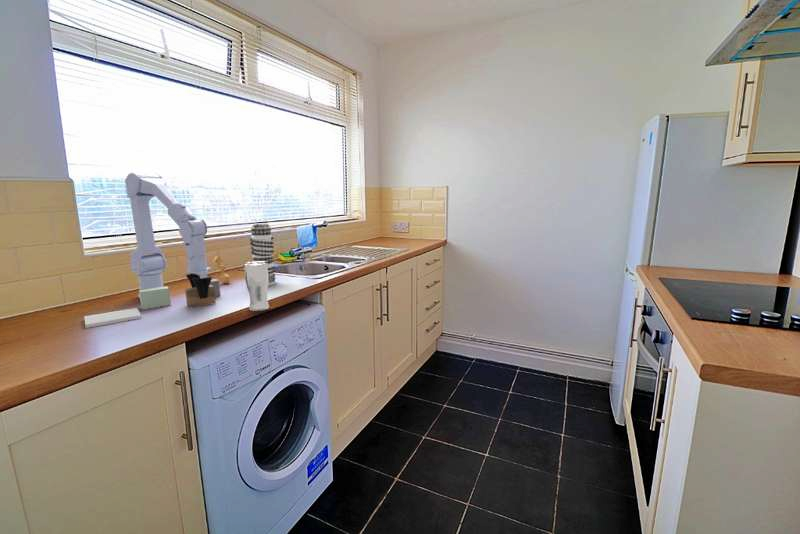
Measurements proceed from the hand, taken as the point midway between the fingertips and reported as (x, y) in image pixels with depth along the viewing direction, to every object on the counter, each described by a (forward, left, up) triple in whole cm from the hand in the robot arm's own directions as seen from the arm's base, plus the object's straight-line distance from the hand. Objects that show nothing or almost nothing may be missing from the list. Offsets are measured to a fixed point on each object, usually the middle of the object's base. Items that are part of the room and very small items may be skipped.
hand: (200, 295), depth 127 cm
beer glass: (+18, +13, -3) cm, 22 cm away
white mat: (-1, -24, -3) cm, 24 cm away
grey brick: (-9, +4, -3) cm, 10 cm away
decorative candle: (-16, +28, -3) cm, 32 cm away
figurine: (-28, +15, -3) cm, 32 cm away
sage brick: (-8, -12, -3) cm, 15 cm away
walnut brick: (0, 0, -3) cm, 3 cm away
